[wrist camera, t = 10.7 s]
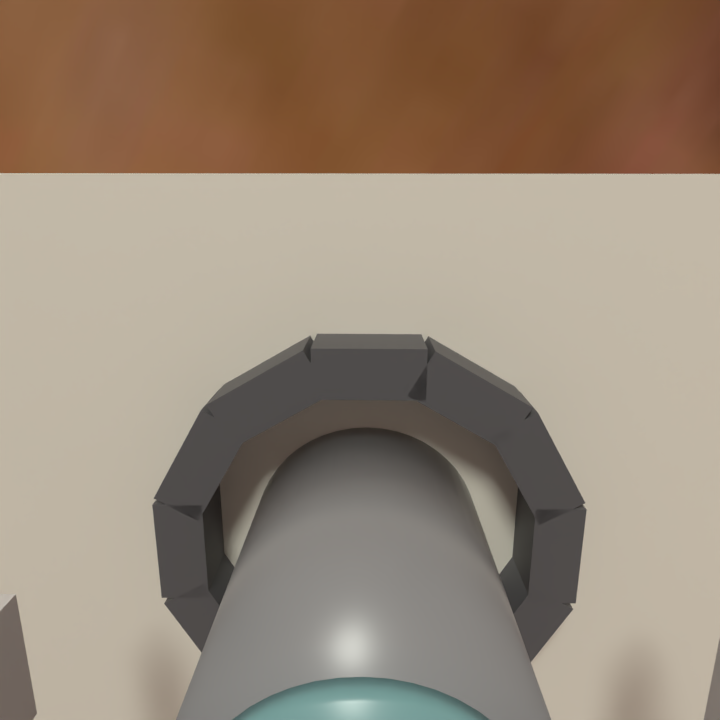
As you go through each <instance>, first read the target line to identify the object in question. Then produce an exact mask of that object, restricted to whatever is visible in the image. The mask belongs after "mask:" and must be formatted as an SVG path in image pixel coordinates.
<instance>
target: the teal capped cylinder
mask: <svg viewBox="0 0 720 720" xmlns="http://www.w3.org/2000/svg"><path fill="white" fill-rule="evenodd" d="M176 720H551V718H550V715H549V712H548V709H547V707H546V704H545V701H544V698H543V695H542V693H541V690H540V687H539V684H538V681H537V679H536V676H535V673H534V670H533V667H532V665H531V662H530V659H529V656H528V653H527V651H526V648H525V645H524V642H523V640H522V637H521V634H520V631H519V628H518V626H517V623H516V620H515V617H514V614H513V612H512V609H511V606H510V603H509V600H508V598H507V595H506V592H505V589H504V586H503V584H502V581H501V578H500V575H499V573H498V570H497V567H496V564H495V561H494V559H493V556H492V553H491V550H490V547H489V545H488V542H487V539H486V536H485V533H484V531H483V528H482V525H481V522H480V520H479V517H478V514H477V511H476V508H475V506H474V503H473V500H472V497H471V494H470V492H469V490H468V488H467V486H466V484H465V482H464V480H463V478H462V477H461V476H460V474H459V473H458V471H457V470H456V468H455V467H454V466H453V465H452V464H451V463H450V462H449V461H448V460H447V459H446V458H445V457H444V456H443V455H442V454H440V453H439V452H438V451H437V450H435V449H434V448H432V447H431V446H429V445H428V444H426V443H425V442H423V441H421V440H418V439H416V438H414V437H412V436H410V435H407V434H404V433H400V432H397V431H393V430H388V429H383V428H369V427H365V428H350V429H344V430H339V431H335V432H332V433H329V434H325V435H322V436H320V437H318V438H316V439H314V440H311V441H309V442H308V443H306V444H305V445H303V446H301V447H300V448H298V449H297V450H296V451H294V452H293V453H292V454H291V455H290V456H288V457H287V458H286V459H285V460H284V461H283V463H282V464H281V465H280V466H279V467H278V468H277V469H276V471H275V472H274V474H273V475H272V477H271V478H270V480H269V482H268V484H267V486H266V488H265V490H264V492H263V495H262V497H261V500H260V503H259V505H258V508H257V510H256V513H255V516H254V518H253V521H252V523H251V526H250V529H249V531H248V534H247V536H246V539H245V542H244V544H243V547H242V549H241V552H240V555H239V557H238V560H237V562H236V565H235V567H234V570H233V573H232V575H231V578H230V580H229V583H228V586H227V588H226V591H225V593H224V596H223V599H222V601H221V604H220V606H219V609H218V612H217V614H216V617H215V619H214V622H213V625H212V627H211V630H210V632H209V635H208V638H207V640H206V643H205V645H204V648H203V651H202V653H201V656H200V658H199V661H198V664H197V666H196V669H195V671H194V674H193V677H192V679H191V682H190V684H189V687H188V690H187V692H186V695H185V697H184V700H183V703H182V705H181V708H180V710H179V713H178V716H177V718H176Z"/></svg>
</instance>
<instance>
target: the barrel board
mask: <svg viewBox="0 0 720 720" xmlns="http://www.w3.org/2000/svg"><path fill="white" fill-rule="evenodd" d="M365 427H369V428H383V429H388V430H393V431H397V432H400V433H404V434H407V435H410V436H412V437H414V438H416V439H418V440H421V441H423V442H425V443H426V444H428V445H429V446H431V447H432V448H434V449H435V450H437V451H438V452H439V453H440V454H442V455H443V456H444V457H445V458H446V459H447V460H448V461H449V462H450V463H451V464H452V465H453V466H454V467H455V468H456V470H457V471H458V473H459V474H460V476H461V477H462V478H463V480H464V482H465V484H466V486H467V488H468V490H469V492H470V494H471V497H472V500H473V503H474V506H475V508H476V511H477V514H478V517H479V520H480V522H481V525H482V528H483V531H484V533H485V536H486V539H487V542H488V545H489V547H490V550H491V553H492V556H493V559H494V561H495V564H496V567H497V570H498V573H499V575H500V578H501V581H502V584H503V586H504V589H505V592H506V595H507V598H508V600H509V603H510V606H511V609H512V612H513V614H514V617H515V620H516V623H517V626H518V628H519V631H520V634H521V637H522V640H523V642H524V645H525V648H526V651H527V653H528V656H529V659H530V662H531V665H532V667H533V670H534V673H535V676H536V679H537V681H538V684H539V687H540V690H541V693H542V695H543V698H544V701H545V704H546V707H547V709H548V712H549V715H550V718H551V720H704V715H705V710H706V705H707V700H708V695H709V690H710V685H711V680H712V675H713V669H714V664H715V659H716V654H717V649H718V644H719V639H720V174H89V173H0V594H16V598H17V603H18V609H19V614H20V620H21V626H22V631H23V637H24V642H25V648H26V654H27V659H28V665H29V670H30V676H31V682H32V687H33V693H34V698H35V704H36V710H37V714H36V716H35V717H34V719H33V720H176V718H177V716H178V713H179V710H180V708H181V705H182V703H183V700H184V697H185V695H186V692H187V690H188V687H189V684H190V682H191V679H192V677H193V674H194V671H195V669H196V666H197V664H198V661H199V658H200V656H201V653H202V651H203V648H204V645H205V643H206V640H207V638H208V635H209V632H210V630H211V627H212V625H213V622H214V619H215V617H216V614H217V612H218V609H219V606H220V604H221V601H222V599H223V596H224V593H225V591H226V588H227V586H228V583H229V580H230V578H231V575H232V573H233V570H234V567H235V565H236V562H237V560H238V557H239V555H240V552H241V549H242V547H243V544H244V542H245V539H246V536H247V534H248V531H249V529H250V526H251V523H252V521H253V518H254V516H255V513H256V510H257V508H258V505H259V503H260V500H261V497H262V495H263V492H264V490H265V488H266V486H267V484H268V482H269V480H270V478H271V477H272V475H273V474H274V472H275V471H276V469H277V468H278V467H279V466H280V465H281V464H282V463H283V461H284V460H285V459H286V458H287V457H288V456H290V455H291V454H292V453H293V452H294V451H296V450H297V449H298V448H300V447H301V446H303V445H305V444H306V443H308V442H309V441H311V440H314V439H316V438H318V437H320V436H322V435H325V434H329V433H332V432H335V431H339V430H344V429H350V428H365Z"/></svg>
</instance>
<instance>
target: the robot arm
mask: <svg viewBox="0 0 720 720" xmlns="http://www.w3.org/2000/svg"><path fill="white" fill-rule="evenodd" d="M36 714H37V710H36V704H35V698H34V693H33V687H32V682H31V676H30V670H29V665H28V659H27V654H26V648H25V642H24V637H23V631H22V626H21V620H20V614H19V609H18V603H17V598H16V594H0V720H33V719H34V717H35V716H36ZM704 720H720V639H719V644H718V649H717V654H716V659H715V664H714V669H713V675H712V680H711V685H710V690H709V695H708V700H707V705H706V710H705V715H704Z"/></svg>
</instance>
